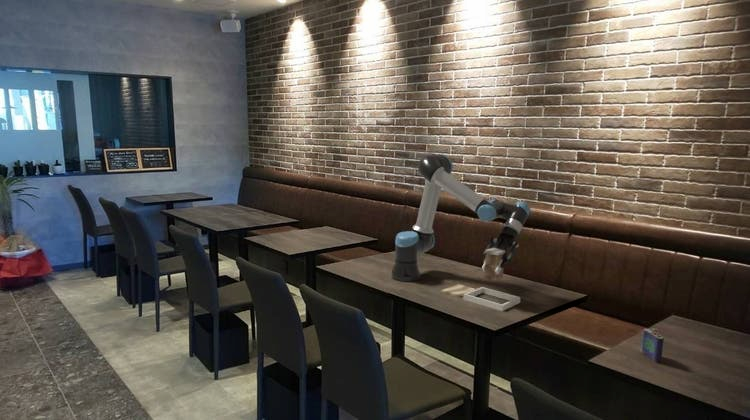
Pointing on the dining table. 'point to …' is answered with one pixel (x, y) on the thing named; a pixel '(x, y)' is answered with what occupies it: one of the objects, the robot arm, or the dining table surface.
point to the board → (457, 290)
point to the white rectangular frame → (501, 307)
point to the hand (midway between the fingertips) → (489, 271)
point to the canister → (493, 263)
